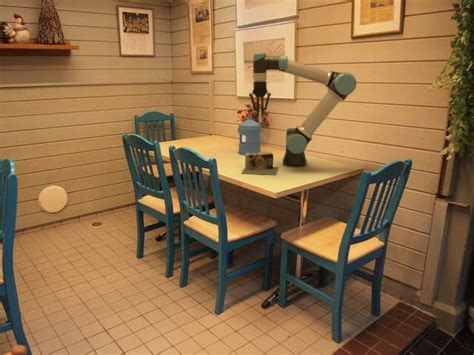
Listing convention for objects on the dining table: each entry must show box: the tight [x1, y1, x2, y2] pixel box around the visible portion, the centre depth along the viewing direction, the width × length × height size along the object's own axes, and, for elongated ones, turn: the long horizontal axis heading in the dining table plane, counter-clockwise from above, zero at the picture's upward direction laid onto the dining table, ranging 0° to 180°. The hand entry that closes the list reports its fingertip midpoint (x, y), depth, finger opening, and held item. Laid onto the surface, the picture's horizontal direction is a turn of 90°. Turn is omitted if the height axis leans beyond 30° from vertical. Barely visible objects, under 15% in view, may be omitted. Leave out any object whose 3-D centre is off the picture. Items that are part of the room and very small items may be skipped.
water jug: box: [238, 113, 262, 156], centre depth 271 cm, size 16×16×28 cm
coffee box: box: [244, 152, 274, 170], centre depth 230 cm, size 9×6×16 cm
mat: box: [241, 166, 279, 176], centre depth 227 cm, size 20×18×1 cm
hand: (260, 122), depth 225 cm, fingers closed
